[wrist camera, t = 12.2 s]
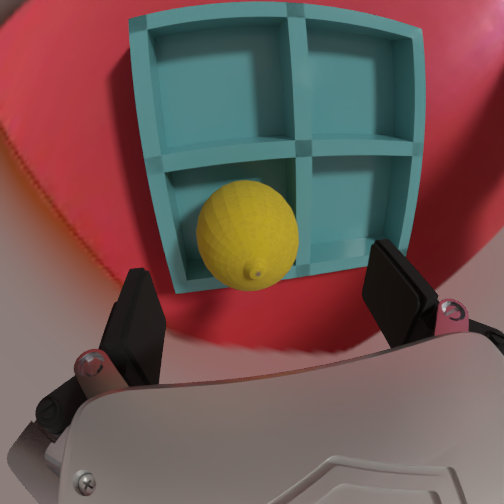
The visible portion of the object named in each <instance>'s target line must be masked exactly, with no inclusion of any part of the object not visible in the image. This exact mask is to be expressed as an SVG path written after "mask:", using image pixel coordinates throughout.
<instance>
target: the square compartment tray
mask: <svg viewBox="0 0 504 504" xmlns="http://www.w3.org/2000/svg"><path fill="white" fill-rule="evenodd" d="M129 39H130V54H131V66H132V76H133V86H134V95H135V103H136V110H137V118H138V125H139V131H140V138H141V144H142V150H143V156H144V161H145V167H146V172H147V177H148V182H149V187H150V192H151V197H152V202H153V206H154V211H155V215H156V220H157V224H158V228H159V232H160V236H161V241H162V245H163V249H164V252H165V256H166V260H167V264H168V268H169V271H170V275H171V279H172V282H173V286H174V289H175V293H176V294H178V293H187V292H195V291H203V290H211V289H219V288H227V287H229V286H226V285H224V284H223V283H222V282H220V281H219V280H217V279H216V278H215V277H214V276H213V275H212V273H211V272H210V271H209V270H208V269H207V267H206V266H205V264H204V261H203V259H202V257H201V255H200V252H199V249H198V244H197V236H196V229H197V223H198V217H199V214H200V212H201V209H202V207H203V205H204V203H205V202H206V200H207V199H208V198H209V197H210V196H211V195H212V193H213V192H215V191H216V190H218V189H219V188H220V187H222V186H223V185H226V184H229V183H231V182H234V181H241V180H249V181H257V182H260V183H263V184H265V185H268V186H270V187H271V188H273V189H274V190H275V191H277V192H278V193H279V194H281V195H282V197H283V198H284V199H285V200H286V202H287V203H288V204H289V206H290V207H291V209H292V211H293V214H294V216H295V219H296V222H297V225H298V235H299V247H298V251H297V256H296V259H295V261H294V263H293V265H292V267H291V269H290V270H289V271H288V273H287V274H286V275H285V276H284V277H283V278H282V279H281V280H283V279H290V278H297V277H303V276H310V275H316V274H322V273H328V272H335V271H341V270H347V269H352V268H358V267H364V266H367V265H368V260H369V254H370V248H371V245H372V244H374V242H375V241H376V240H381V239H389V240H390V241H391V242H392V243H393V244H394V245H395V246H396V248H397V249H398V250H399V251H400V252H401V253H402V254H403V255H404V256H405V257H406V254H407V250H408V245H409V241H410V236H411V231H412V226H413V221H414V215H415V210H416V204H417V197H418V191H419V183H420V176H421V167H422V157H423V146H424V132H425V106H426V83H425V58H424V44H423V34H422V29H420V28H417V27H414V26H411V25H408V24H405V23H402V22H398V21H395V20H391V19H388V18H384V17H380V16H376V15H372V14H367V13H363V12H358V11H353V10H347V9H342V8H335V7H329V6H321V5H312V4H302V3H288V2H231V3H217V4H206V5H198V6H190V7H183V8H177V9H171V10H166V11H161V12H156V13H151V14H147V15H142V16H138V17H134V18H131V19H129Z"/></svg>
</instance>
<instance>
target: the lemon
mask: <svg viewBox="0 0 504 504" xmlns="http://www.w3.org/2000/svg"><path fill="white" fill-rule="evenodd" d="M196 236H197V244H198V249H199V252H200V255H201V257H202V259H203V261H204V264H205V266H206V267H207V269H208V270H209V271H210V272H211V273H212V275H213V276H214V277H215V278H216V279H217V280H219V281H220V282H222V283H223V284H224V285H226V286H229V287H231V288H234V289H236V290H243V291H256V290H260V289H264V288H267V287H269V286H271V285H274V284H275V283H277V282H278V281H279V280H281V279H282V278H283V277H284V276H285V275H286V274H287V273H288V271H289V270H290V269H291V267H292V265H293V263H294V261H295V259H296V256H297V251H298V247H299V235H298V225H297V222H296V219H295V216H294V214H293V211H292V209H291V207H290V206H289V204H288V203H287V202H286V200H285V199H284V198H283V197H282V195H281V194H279V193H278V192H277V191H275V190H274V189H273V188H271V187H270V186H268V185H265V184H263V183H260V182H257V181H249V180H241V181H234V182H231V183H229V184H226V185H223V186H222V187H220V188H219V189H218V190H216V191H215V192H213V193H212V195H211V196H210V197H209V198H208V199H207V200H206V202H205V203H204V205H203V207H202V209H201V212H200V214H199V217H198V223H197V229H196Z"/></svg>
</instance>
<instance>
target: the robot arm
mask: <svg viewBox="0 0 504 504" xmlns="http://www.w3.org/2000/svg"><path fill="white" fill-rule="evenodd" d="M362 297H363V300H364V302H365V303H366V305H367V307H368V308H369V310H370V312H371V314H372V315H373V317H374V319H375V321H376V322H377V324H378V326H379V328H380V329H381V331H382V333H383V335H384V336H385V338H386V340H387V342H388V344H389V346H390V347H391V349H387V350H384V351H380V352H376V353H372V354H368V355H365V356H360V357H356V358H352V359H348V360H343V361H339V362H334V363H330V364H325V365H320V366H315V367H310V368H304V369H299V370H294V371H287V372H281V373H275V374H268V375H261V376H253V377H246V378H238V379H227V380H217V381H206V382H192V383H177V384H159V376H160V367H161V359H162V352H163V343H164V337H165V330H166V319H165V316H164V313H163V310H162V308H161V305H160V302H159V299H158V296H157V293H156V290H155V288H154V285H153V282H152V278H151V275H150V273H149V271H145V269H144V268H135V269H130V270H129V272H128V274H127V277H126V280H125V282H124V285H123V287H122V290H121V293H120V295H119V298H118V301H117V302H115V303H114V305H113V308H112V311H111V313H110V316H109V319H108V322H107V324H106V327H105V330H104V333H103V336H102V339H101V343H100V346H99V349H91V350H88V351H86V352H84V353H82V354H81V355H80V356H79V357H78V358H77V360H76V362H75V364H74V372H75V376H74V377H72V378H71V379H70V380H68V381H67V382H65V383H64V384H63V385H61V386H60V387H58V388H57V389H56V390H54V391H53V392H51V393H50V394H49V395H47V396H46V397H45V398H43V399H42V400H41V401H40V403H39V404H38V406H37V408H36V421H35V422H32V421H31V422H30V423H29V424H28V426H27V427H26V428H25V429H24V431H23V432H22V433H21V435H20V436H19V437H18V439H17V440H16V441H15V443H14V444H13V446H12V447H11V448H10V450H9V452H8V455H7V462H8V465H9V467H10V469H11V470H12V472H13V473H14V474H15V476H16V477H17V478H18V479H19V481H20V482H21V483H22V484H23V486H25V488H26V489H27V490H28V491H29V493H30V494H31V495H32V496H33V497H34V498H35V499H36V500H37V502H38V503H39V504H504V334H503V333H502V332H501V331H499V330H497V329H495V328H492V327H490V326H487V325H484V324H482V323H479V322H476V321H474V320H471V319H469V315H468V311H467V309H466V307H465V306H464V305H463V304H462V303H460V302H459V301H456V300H454V299H444V300H442V301H441V302H439V301H438V300H437V298H438V294H437V293H436V292H435V291H434V290H433V288H432V287H431V286H430V285H429V284H428V282H427V281H426V280H425V279H424V278H423V277H422V275H421V274H420V273H419V272H418V271H417V270H416V269H415V267H414V266H413V265H412V264H411V263H410V262H409V261H408V260H407V258H406V257H405V256H404V255H403V254H402V253H401V252H400V251H399V250H398V249H397V248H396V246H395V245H394V244H393V243H392V242H391V241H390V240H389V239H381V240H376V241H375V242H374V244H372V245H371V248H370V254H369V260H368V265H367V271H366V276H365V281H364V286H363V290H362Z"/></svg>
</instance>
